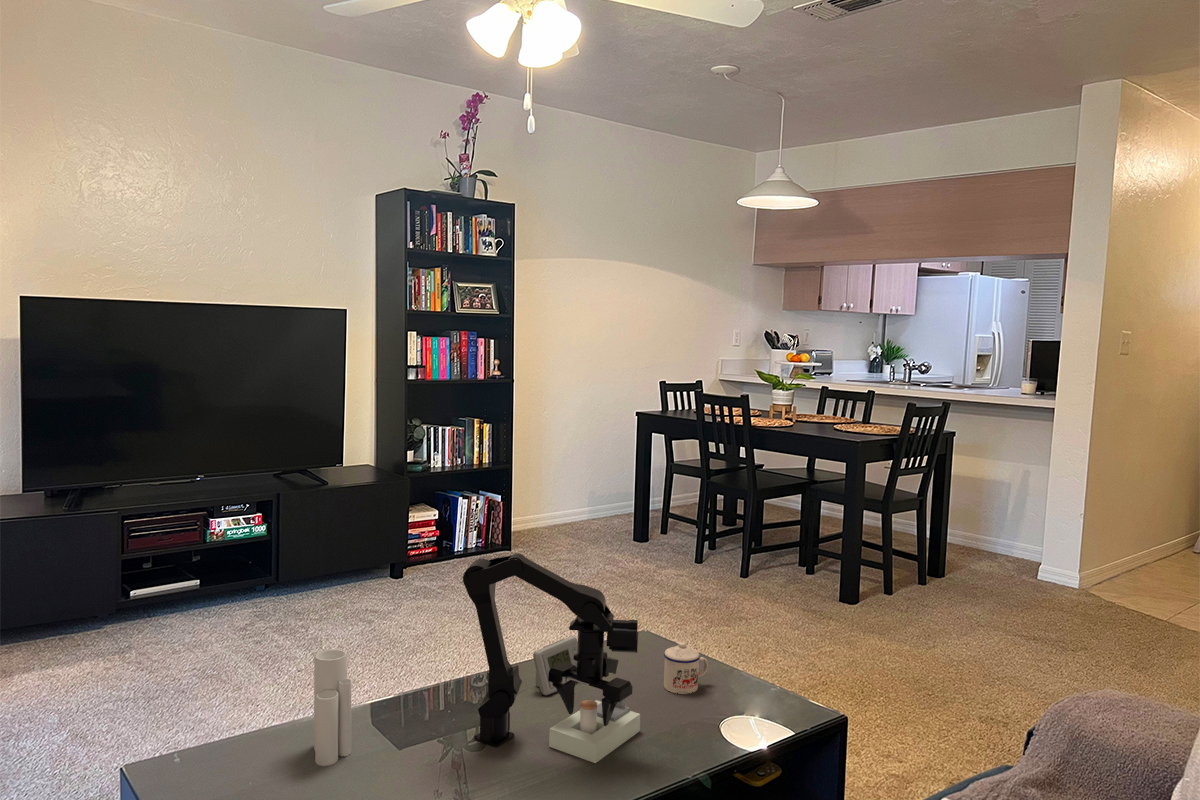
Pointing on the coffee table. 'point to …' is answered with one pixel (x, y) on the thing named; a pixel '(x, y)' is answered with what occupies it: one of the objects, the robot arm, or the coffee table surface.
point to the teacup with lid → (682, 669)
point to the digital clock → (553, 661)
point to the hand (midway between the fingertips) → (588, 719)
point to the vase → (331, 707)
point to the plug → (588, 716)
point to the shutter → (618, 711)
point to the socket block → (593, 736)
